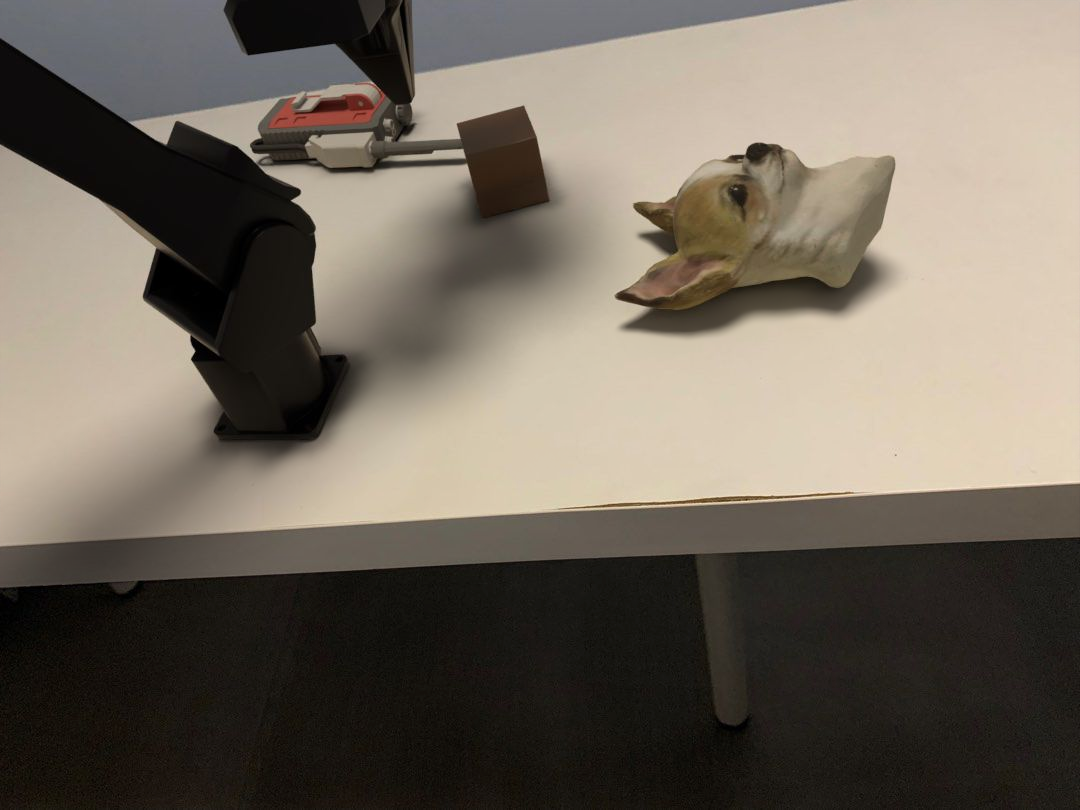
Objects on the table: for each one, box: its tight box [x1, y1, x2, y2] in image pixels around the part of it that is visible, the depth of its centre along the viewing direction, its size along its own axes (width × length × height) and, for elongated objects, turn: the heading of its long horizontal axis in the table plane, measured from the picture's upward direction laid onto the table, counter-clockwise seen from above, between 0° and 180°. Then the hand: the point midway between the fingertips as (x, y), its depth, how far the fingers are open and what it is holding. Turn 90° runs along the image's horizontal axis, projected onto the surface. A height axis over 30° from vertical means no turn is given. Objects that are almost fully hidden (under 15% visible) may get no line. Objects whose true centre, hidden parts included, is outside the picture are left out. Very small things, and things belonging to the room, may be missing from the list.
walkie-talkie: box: [249, 82, 463, 169], centre depth 70 cm, size 9×4×20 cm
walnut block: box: [456, 105, 550, 219], centre depth 60 cm, size 5×5×5 cm
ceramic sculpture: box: [613, 141, 896, 311], centre depth 48 cm, size 11×9×15 cm
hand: (405, 101), depth 48 cm, fingers closed
